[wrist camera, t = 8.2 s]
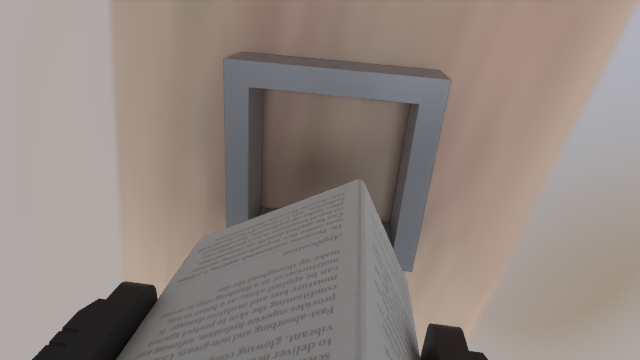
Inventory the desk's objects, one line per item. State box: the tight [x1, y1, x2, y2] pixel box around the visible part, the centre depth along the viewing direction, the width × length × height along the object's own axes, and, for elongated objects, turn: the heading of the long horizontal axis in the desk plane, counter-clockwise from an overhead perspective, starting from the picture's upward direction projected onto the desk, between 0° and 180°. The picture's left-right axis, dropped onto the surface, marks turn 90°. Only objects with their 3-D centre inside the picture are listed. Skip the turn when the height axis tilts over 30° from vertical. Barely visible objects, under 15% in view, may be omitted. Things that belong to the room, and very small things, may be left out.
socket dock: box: [223, 52, 451, 272], centre depth 22 cm, size 10×10×3 cm
